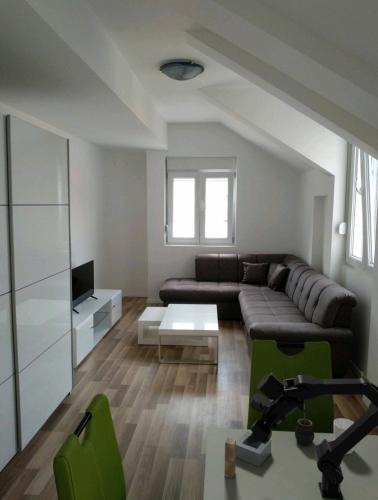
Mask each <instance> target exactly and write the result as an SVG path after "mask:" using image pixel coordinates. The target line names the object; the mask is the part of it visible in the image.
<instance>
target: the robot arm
mask: <svg viewBox="0 0 378 500" xmlns="http://www.w3.org/2000/svg"><path fill="white" fill-rule="evenodd" d="M291 387H292V388H291ZM256 388H257V390H259V391H260V392H261V393H262V394H263V395H262V394H260V393H258V392H256V393H255V394H254V395H253V397H252V398H251V401H250V402H249V408H251V410H253V411H255V412H257V413H260V416H261V417H260V419H256V421H254V423H253V424H252V425H251V427H250V431H251V432H250V433H251V435H250V436H249V438H248V439H247V442H248V443H256V442H262V443H263V444H266V443H267V442H268V441H269V440H271V438H272V436H273V434H272V433H273V431H272V430H271V428H273V429H274V430H275V429H277V428H278V426H279V424H280V423H281V422H285V421H286V419H287V417H289V416H290V415H291V414H292V413H293V412H294V411H296V409H299V411H301V412H303V413H304V412H305V409H306V408H305V407H306V406H305V402H306V401H308V400H309V401H310V400H314V399H315V400H316V399H317V398H320V397H321V396H345V395H346V396H348V395H349V396H350V395H351V396H352V395H355V396H357V395H359V396H360V395H363V396H364V397H365V398H367V399H368V401H370V403H369V405H368V407H367V410H366V412H364V413H363V414H362V415H360V417H359V418H358V419H356V421H353V422H354V423H353V424H352V425H351V426H350V427H349V428H348V429H346V430H345V431H344V432H343V433H342V434H341V435H340V436H339V437H338V438H336V439H335V440H334V439H333V440H330V441H328V440H327V439H326V438H324V439H323V440H322V441H321V442H320V443H318V444H316V449H315V450H314V451H315V452H314V457H315V462H316V467H317V470H318V471H319V473H321V481H319V482H317V483H318V484H317V485H318V487H319V491H320V496H321V497H322V498H324V499H336V500H344V495H343V492H342V489H341V486H342V485H341V484H342V483H343V481H344V473H343V471H342V466H341V464H342V462H343V459H344V458H345V455H347V454H346V453H347V452H349V451H350V450H351V449H352V448H353V447H354V448H355V446H357V445H358V444H359V443H360V442H361V441H362V440H363V439H364V438H366V437H367V436H369V434H370V433H372V432H373V431H374V430H375V429H376V428H377V427H378V385H376V384H374V383H373V382H371V380H369V379H368V378H367V377H360V378H331V379H330V378H325V379H324V378H317V377H315V376H311V375H305V374H298V375H296V376H295V377H294V378H293V377H292V378H287V379H283V380H281V379H279V378H278V377H277V376H276V375H275V374H274V373H273V372H272V371H271V372H270V373H268V374H267V375H265V376H263V377H261V379H260V381H259V382H258V384H257V387H256ZM264 395H265V396H264ZM354 448H353V449H354Z"/></svg>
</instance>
